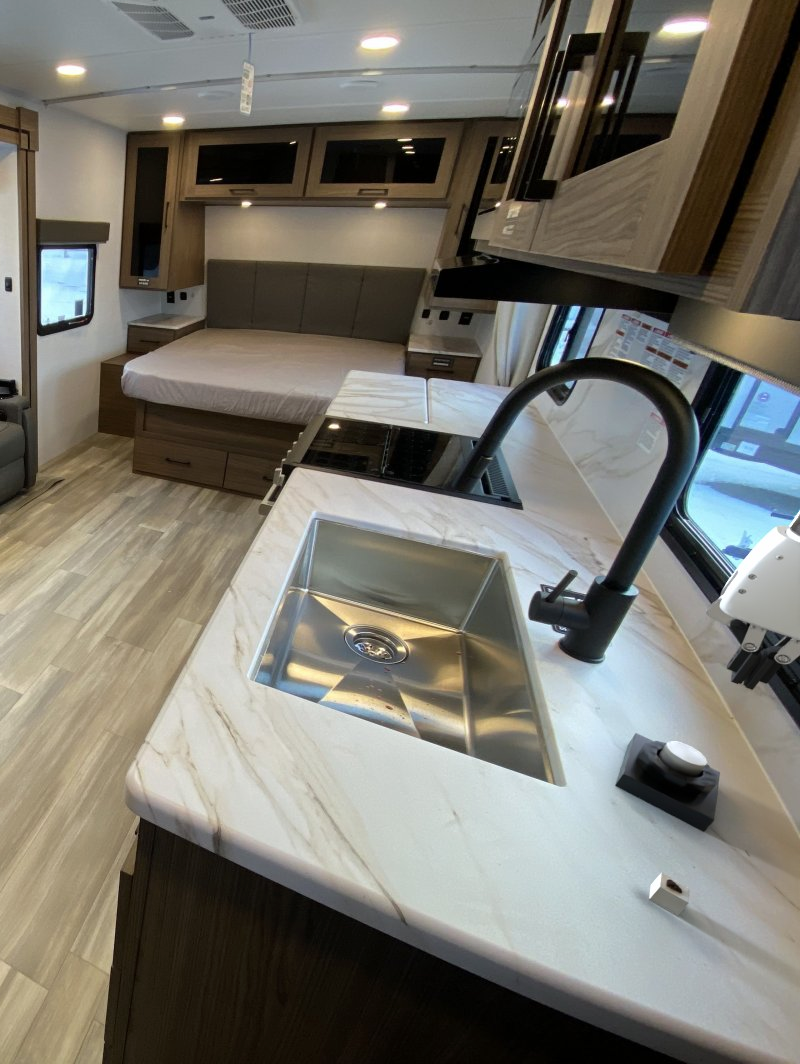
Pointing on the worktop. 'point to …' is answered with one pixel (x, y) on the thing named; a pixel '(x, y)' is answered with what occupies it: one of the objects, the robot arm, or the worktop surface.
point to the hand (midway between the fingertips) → (742, 680)
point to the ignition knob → (683, 758)
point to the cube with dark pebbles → (669, 894)
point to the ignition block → (668, 784)
